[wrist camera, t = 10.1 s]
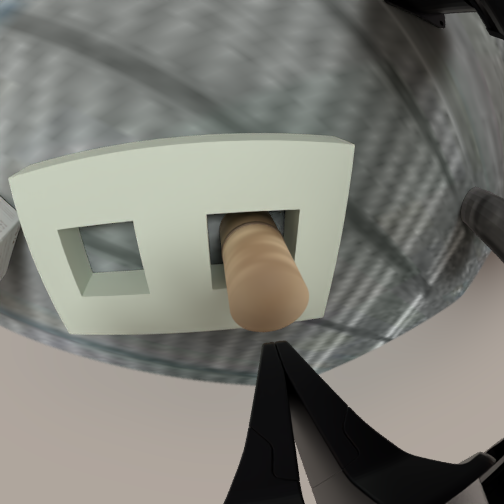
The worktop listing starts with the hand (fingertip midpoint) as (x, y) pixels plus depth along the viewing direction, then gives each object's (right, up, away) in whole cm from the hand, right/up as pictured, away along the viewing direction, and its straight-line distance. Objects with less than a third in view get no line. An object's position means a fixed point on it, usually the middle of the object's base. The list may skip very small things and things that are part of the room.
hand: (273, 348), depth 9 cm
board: (-6, +5, +10) cm, 13 cm away
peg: (-1, +5, +11) cm, 12 cm away
